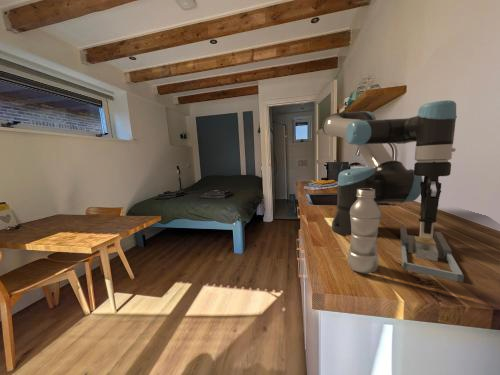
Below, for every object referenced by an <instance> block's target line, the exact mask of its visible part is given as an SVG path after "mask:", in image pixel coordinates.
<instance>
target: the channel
mask: <svg viewBox="0 0 500 375" xmlns="http://www.w3.org/2000/svg"><path fill="white" fill-rule="evenodd" d="M399 230H400V231H399V237H400V239H399V241H400V249H402V246H405V248H406V253H411V254H415V252H414V246H413V243H414V236H415V235H410V234H408V231H407V227H405V226H400V229H399ZM433 239H434V241H435V243H436V248H437V250H438V259H441V260H447V254H451V255H452V256H453V254H452V253H453V252H452V251H453V250H452V249H451V247H450V245H449V243H448V242H447V240H446V239H445V237H444V235H443V234H442V232H441V231H434V230H433Z"/></svg>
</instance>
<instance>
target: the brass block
mask: <svg viewBox="0 0 500 375" xmlns="http://www.w3.org/2000/svg"><path fill="white" fill-rule="evenodd" d="M413 236H414V243H413V246H414V247H415V242H418V243H424V244H431V245H435V246H436V243H435V241H434V239H432V238H426V237H419V236H420V235H419V236H418V235H417V236H416V235H413Z"/></svg>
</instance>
